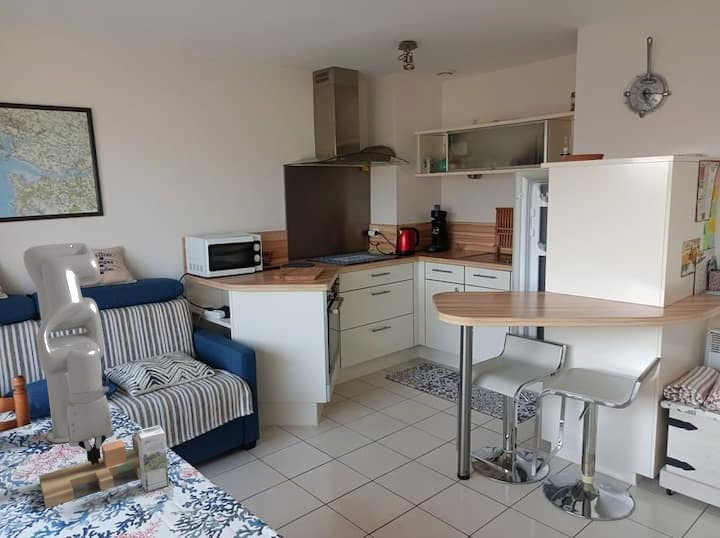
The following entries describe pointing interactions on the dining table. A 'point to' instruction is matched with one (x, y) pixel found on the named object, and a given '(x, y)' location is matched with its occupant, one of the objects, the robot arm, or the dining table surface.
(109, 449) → the orange block
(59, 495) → the board
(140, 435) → the syrup box
